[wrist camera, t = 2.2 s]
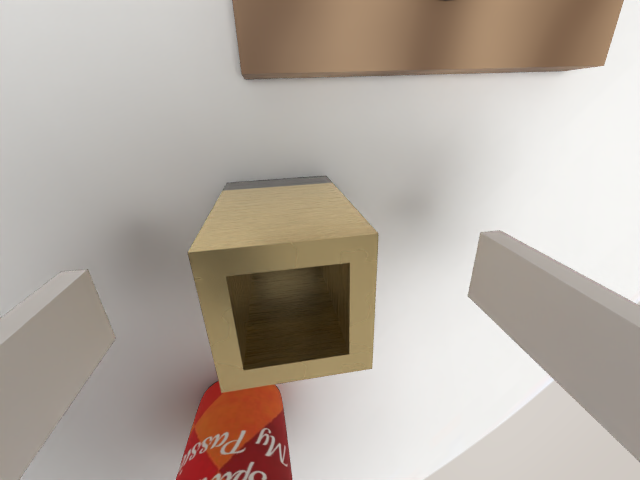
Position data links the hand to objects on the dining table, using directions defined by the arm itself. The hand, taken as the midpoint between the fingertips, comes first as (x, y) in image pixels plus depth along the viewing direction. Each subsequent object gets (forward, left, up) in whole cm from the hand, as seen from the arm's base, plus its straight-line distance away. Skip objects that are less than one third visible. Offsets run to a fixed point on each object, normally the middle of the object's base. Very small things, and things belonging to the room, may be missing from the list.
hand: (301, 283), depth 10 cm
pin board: (+7, +16, -6) cm, 18 cm away
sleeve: (0, 0, -6) cm, 6 cm away
